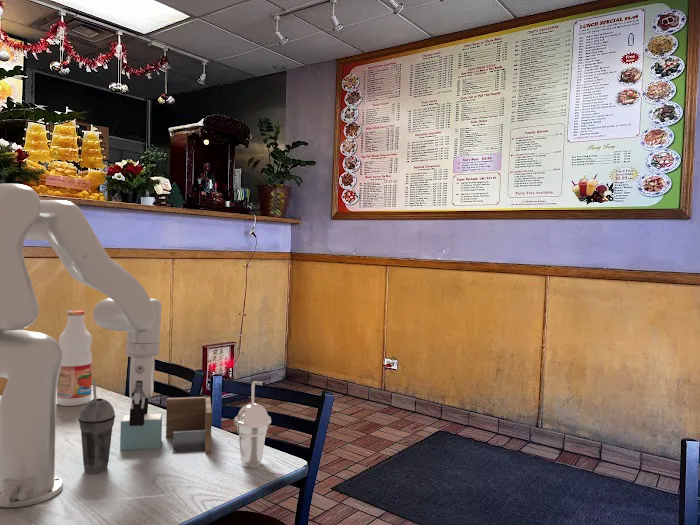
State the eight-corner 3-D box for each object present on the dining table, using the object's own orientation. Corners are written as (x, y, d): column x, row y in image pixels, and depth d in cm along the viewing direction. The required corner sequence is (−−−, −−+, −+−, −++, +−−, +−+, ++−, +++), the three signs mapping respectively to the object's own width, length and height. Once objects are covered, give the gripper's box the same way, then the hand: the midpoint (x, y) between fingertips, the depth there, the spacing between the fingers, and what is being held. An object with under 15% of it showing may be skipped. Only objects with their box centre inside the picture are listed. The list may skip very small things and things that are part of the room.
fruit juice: (61, 398, 171) (63, 309, 170) (94, 397, 173) (96, 309, 172) (52, 407, 161) (54, 312, 161) (87, 406, 164) (89, 313, 163)
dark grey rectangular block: (205, 451, 131) (205, 435, 131) (172, 454, 129) (172, 437, 129) (204, 445, 135) (205, 429, 135) (173, 447, 133) (173, 431, 133)
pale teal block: (160, 448, 132) (160, 419, 132) (120, 451, 130) (120, 421, 130) (161, 441, 137) (162, 413, 137) (122, 443, 135) (123, 414, 135)
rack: (210, 454, 130) (211, 412, 129) (162, 457, 127) (164, 414, 127) (209, 434, 143) (210, 396, 143) (166, 436, 140) (167, 398, 140)
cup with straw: (269, 456, 130) (272, 372, 129) (270, 472, 121) (273, 382, 120) (233, 457, 128) (235, 372, 128) (231, 473, 119) (233, 382, 119)
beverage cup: (121, 466, 121) (123, 376, 120) (98, 479, 114) (100, 384, 113) (93, 462, 123) (95, 373, 122) (69, 474, 116) (71, 380, 115)
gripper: (156, 355, 126) (152, 429, 125) (161, 344, 142) (157, 410, 142) (121, 354, 124) (117, 430, 123) (130, 343, 140) (126, 410, 140)
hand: (138, 419), depth 133 cm, fingers open, 9 cm apart
